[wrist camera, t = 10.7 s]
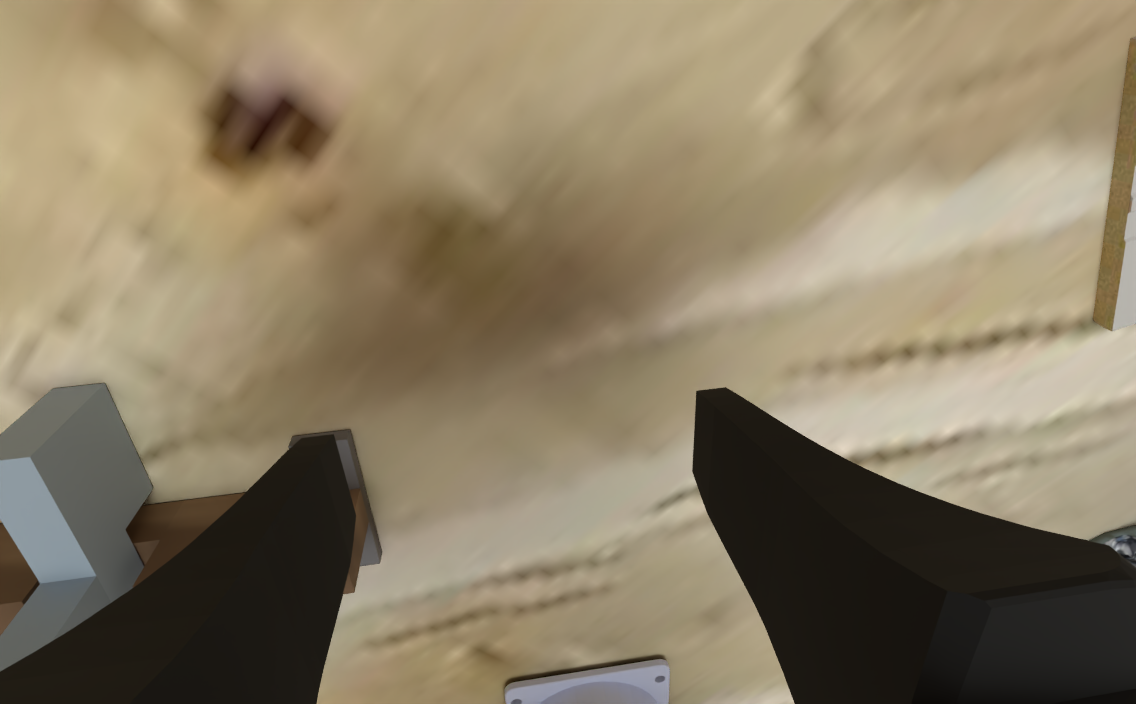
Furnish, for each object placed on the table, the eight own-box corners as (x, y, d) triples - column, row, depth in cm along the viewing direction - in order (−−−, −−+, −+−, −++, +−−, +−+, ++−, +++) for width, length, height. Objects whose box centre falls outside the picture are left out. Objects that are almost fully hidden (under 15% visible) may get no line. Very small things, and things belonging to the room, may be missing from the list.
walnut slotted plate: (382, 552, 25) (367, 637, 22) (-48, 611, 24) (-138, 712, 20) (350, 429, 23) (327, 504, 19) (-139, 487, 21) (-261, 579, 18)
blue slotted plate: (218, 631, 26) (127, 853, 19) (178, 637, 26) (71, 863, 19) (104, 382, 21) (-85, 569, 14) (52, 388, 20) (-166, 579, 13)
